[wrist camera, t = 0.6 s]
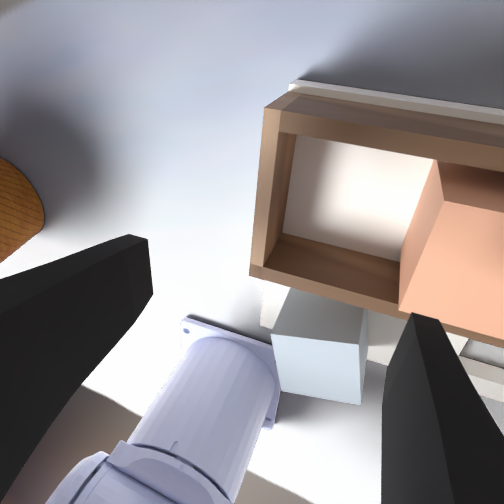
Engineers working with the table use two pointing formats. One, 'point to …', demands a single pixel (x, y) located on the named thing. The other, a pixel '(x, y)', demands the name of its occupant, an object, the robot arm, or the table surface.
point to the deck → (368, 209)
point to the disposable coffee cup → (17, 210)
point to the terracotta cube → (457, 250)
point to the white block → (321, 347)
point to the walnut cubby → (361, 134)
